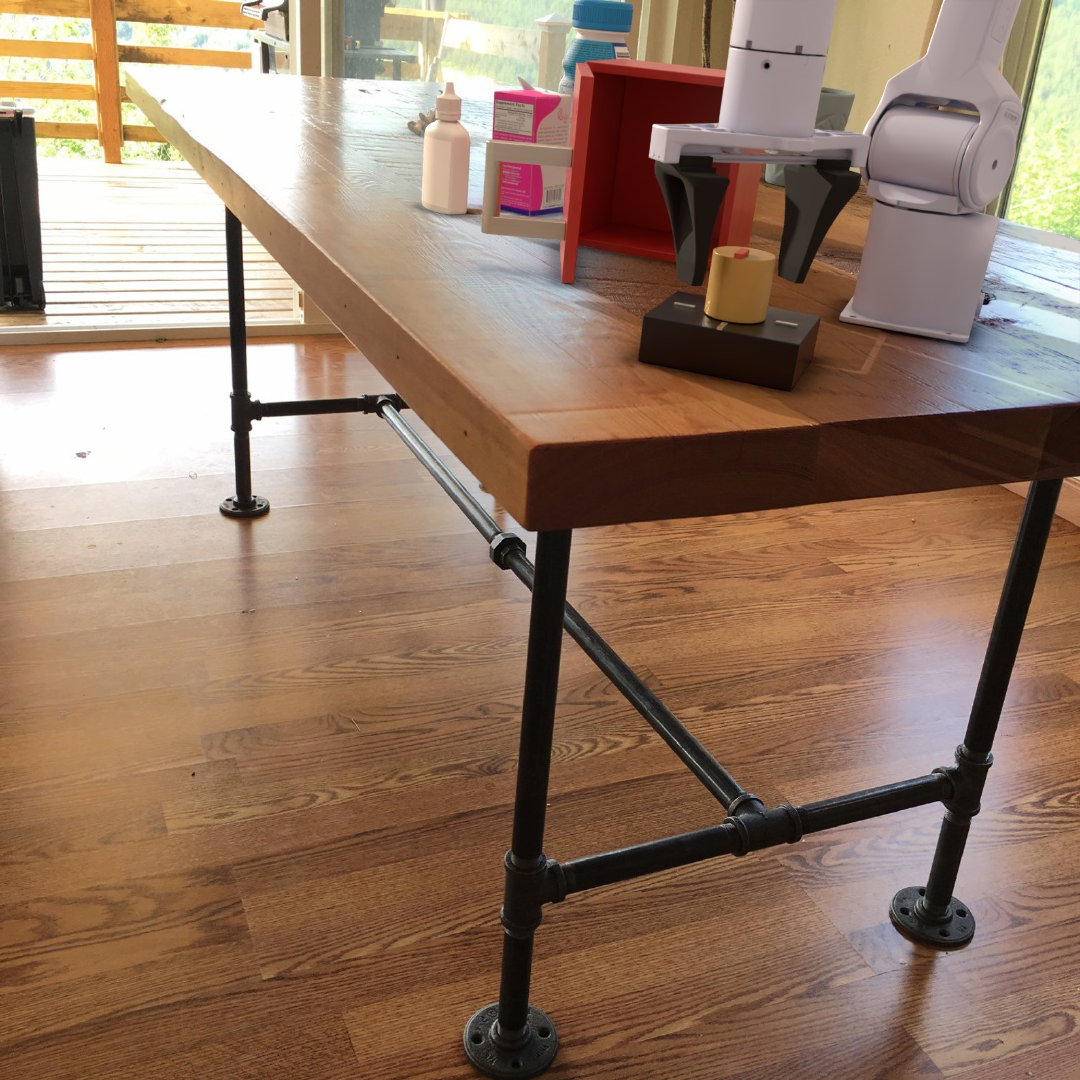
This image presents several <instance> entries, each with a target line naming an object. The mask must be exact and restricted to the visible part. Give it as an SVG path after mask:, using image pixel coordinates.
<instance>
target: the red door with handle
mask: <svg viewBox="0 0 1080 1080" xmlns="http://www.w3.org/2000/svg"><path fill="white" fill-rule="evenodd" d="M593 85H594V76H593V74H592V72H591V70H590V68H589V65H588V64H585V63H576V72H575V83H574V94H573V105H572V116H571V127H570V138H569V146H559V145H548V144H536V143H525V142H514V141H503V140H492V139H487V140H486V143H485V158H484V159H485V160H484V164H485V165H484V174H483V175H484V177H483V180H484V181H483V191H482V192H483V195H482V209H481V225H480V226H481V227H480V232H481V233H482V234H486V235H493V236H503V237H504V236H506V237H515V238H525V239H538V240H539V239H540V240H548V241H549V240H550V241H559V259H560V278H561V279H560V280H561V281H560V282H561V284H571V285H573V284H575V278H576V277H575V276H576V266H577V258H578V257H577V256H578V247H579V246H578V238H579V227H580V217H581V207H582V197H583V187H584V177H585V166H586V156H587V146H588V136H589V126H590V116H591V105H592V95H593ZM503 162H512V163H523V164H535V165H546V166H557V167H567V171H566V182H565V193H564V204H563V212H562V216H561V219H559V218H548V217H537V216H526V215H515V214H514V215H513V214H503V213H501V209H500V205H501V190H502V175H503Z"/></svg>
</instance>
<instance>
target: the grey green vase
mask: <svg viewBox="0 0 1080 1080" xmlns="http://www.w3.org/2000/svg"><path fill="white" fill-rule="evenodd" d="M855 97H856V93H854V92H851V91H846V90H843V89H839V88H838V89H837V88H831V87H825V86H822V88H821V93H820V99H819V104H818V110H817V116H816V121H815V127H814V129H820V130H832V131H846V129H845V128H846V127H847V124H848V121H849V117H850V115H851V111H852V108H853V106H854V105H853V104H854V101H855ZM767 154H795V153H792V152H783V151H769V150H767ZM795 155H801V154H795ZM785 165H786V164H766V167H765V175H764V179H765V182H767V183H769V184H772V185H775V186H780V187H784V188H785V180H784V166H785Z"/></svg>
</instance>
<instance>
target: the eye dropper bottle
mask: <svg viewBox="0 0 1080 1080" xmlns="http://www.w3.org/2000/svg"><path fill="white" fill-rule="evenodd" d="M443 89H444V90H443V91H444V92H443V94H441V93H440V94H441V95H440V94H439V95H437V96H436V97H435V99H436V100H435V109H436V118H437V119H439V120H436V121H435V122H433V123H431V124H429V125H428V126H427V127H426V129H425V130H424V135H423V153H422V154H423V157H422V179H421V205H422V207H423V208H425V209H427V210H428V211H431V212H435V213H438V214H442V215H448V216H456V215H457V216H458V215H465V214H467V213H468V212H467V211H468V200H469V199H468V198H469V197H468V196H469V181H470V180H469V178H470V159H471V136H470V134H469V131H468V130H467V129H466V128H465V127H464V125H463V124H462V123H461V122H460V121H461V120H462V119H461V118H462V100H463V99H462V98H461V97H459V96H458V95H457V94H456V92H455V84H454V82H453V81H445V85H444V88H443Z"/></svg>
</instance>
